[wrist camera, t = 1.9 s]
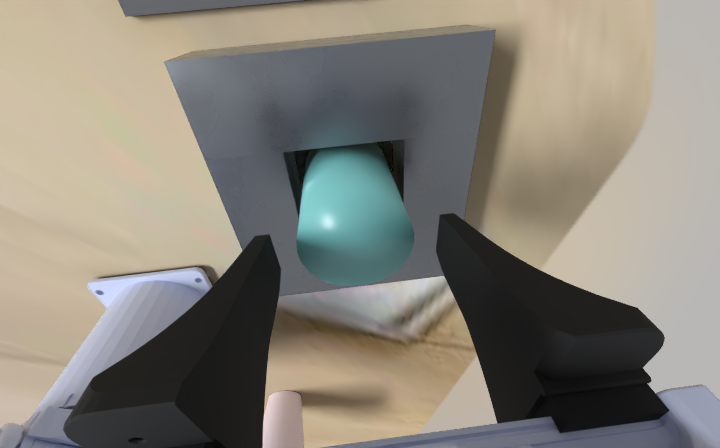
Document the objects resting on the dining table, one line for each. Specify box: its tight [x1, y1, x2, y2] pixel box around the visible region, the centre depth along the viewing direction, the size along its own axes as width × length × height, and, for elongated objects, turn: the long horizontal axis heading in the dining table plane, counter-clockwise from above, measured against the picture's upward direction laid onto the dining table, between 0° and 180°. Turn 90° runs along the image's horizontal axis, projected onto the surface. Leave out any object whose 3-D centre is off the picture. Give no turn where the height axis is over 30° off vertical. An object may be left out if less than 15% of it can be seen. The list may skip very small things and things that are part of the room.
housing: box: [164, 25, 496, 296], centre depth 17 cm, size 14×13×3 cm
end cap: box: [296, 142, 414, 286], centre depth 16 cm, size 5×5×7 cm
